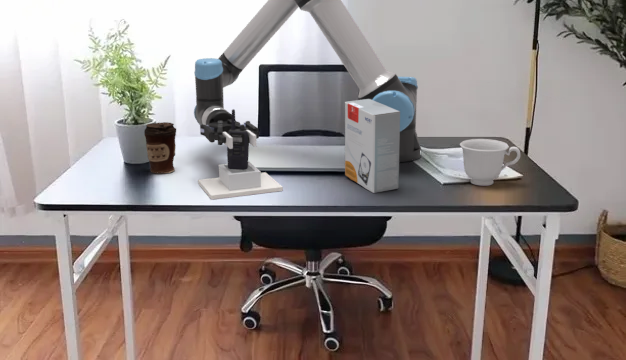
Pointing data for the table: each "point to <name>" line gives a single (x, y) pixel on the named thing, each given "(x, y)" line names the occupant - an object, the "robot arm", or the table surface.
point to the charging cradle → (239, 183)
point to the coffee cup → (160, 146)
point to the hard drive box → (372, 144)
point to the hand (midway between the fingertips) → (243, 142)
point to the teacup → (485, 159)
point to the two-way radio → (238, 147)
